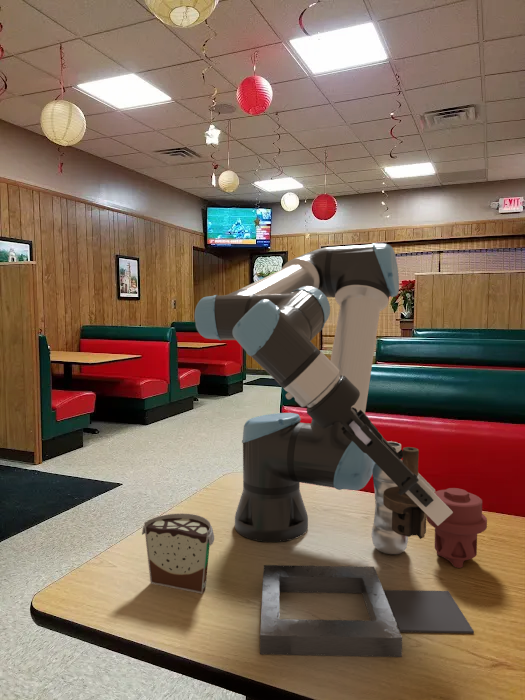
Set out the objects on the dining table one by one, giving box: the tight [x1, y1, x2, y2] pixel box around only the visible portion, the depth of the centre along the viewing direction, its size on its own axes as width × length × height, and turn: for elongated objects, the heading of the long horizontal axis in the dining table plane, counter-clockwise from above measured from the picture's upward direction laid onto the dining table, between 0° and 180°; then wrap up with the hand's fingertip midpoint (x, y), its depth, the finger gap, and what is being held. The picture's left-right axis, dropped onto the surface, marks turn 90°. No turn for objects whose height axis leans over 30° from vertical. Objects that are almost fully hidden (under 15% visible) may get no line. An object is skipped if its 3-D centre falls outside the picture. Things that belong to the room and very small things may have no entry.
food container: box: [141, 513, 215, 595], centre depth 81 cm, size 12×6×10 cm, turn 71°
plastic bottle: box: [371, 441, 409, 555], centre depth 90 cm, size 6×7×20 cm
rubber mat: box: [383, 589, 475, 634], centre depth 72 cm, size 10×10×1 cm
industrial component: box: [383, 446, 428, 540], centre depth 69 cm, size 9×7×12 cm
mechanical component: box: [426, 487, 488, 569], centre depth 87 cm, size 12×10×10 cm
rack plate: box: [259, 564, 403, 658], centre depth 71 cm, size 18×18×2 cm
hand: (435, 506), depth 70 cm, fingers closed on industrial component, 7 cm apart
